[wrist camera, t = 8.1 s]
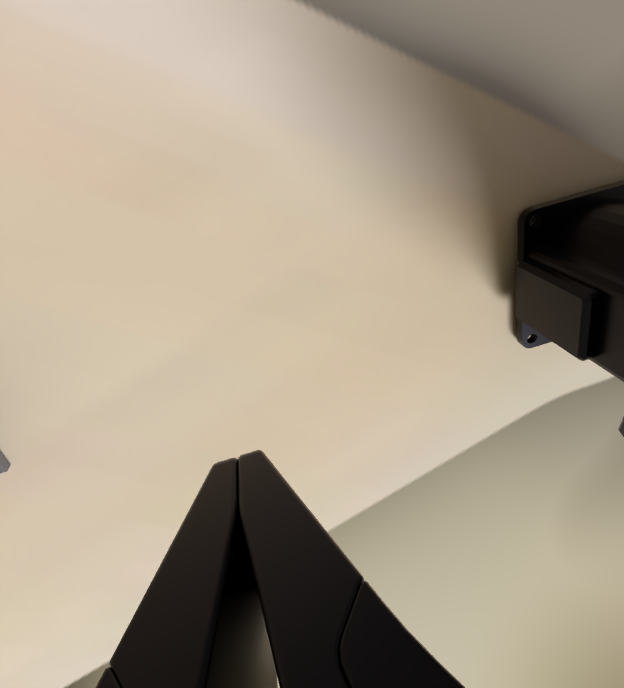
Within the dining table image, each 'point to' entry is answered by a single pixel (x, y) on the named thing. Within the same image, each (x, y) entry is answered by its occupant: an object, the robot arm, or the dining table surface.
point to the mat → (3, 463)
